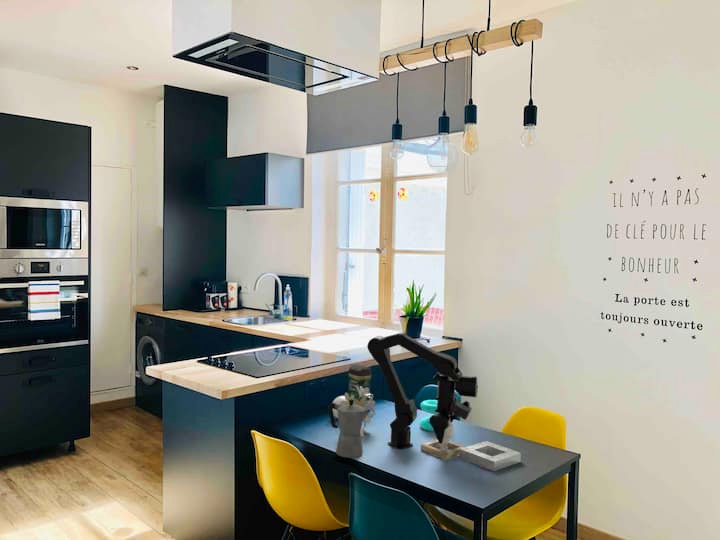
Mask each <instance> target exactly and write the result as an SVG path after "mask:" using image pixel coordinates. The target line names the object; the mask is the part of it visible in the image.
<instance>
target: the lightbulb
mask: <svg viewBox="0 0 720 540" xmlns="http://www.w3.org/2000/svg"><path fill="white" fill-rule="evenodd" d="M454 432H455V427H454V424H453V422H450V426H449V427H448V428H446V429H445V434H444V438H443V443H442V444H441V443H440V447H439V449H440V450H442V451H449V448H448V443H449V441H450V439H451V437H453V435H454Z"/></svg>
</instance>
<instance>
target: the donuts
mask: <svg viewBox="0 0 720 540" xmlns="http://www.w3.org/2000/svg"><path fill="white" fill-rule="evenodd" d="M436 408H437V400H436V399H427V400H423V401H422V402H421V403H420V409H421V410H422V411H423V412H425V413H428V414H432V415H433V414H435V413H437V412H435V409H436ZM438 414H439V413H438ZM430 417H431V416H426V417H423V418H421V420H420V421H419V426H420V428H421V429H423V430H424V431H427V430H428V431H429V432H434V430H433V427H432V426H431V424H430V423H429V422H430Z"/></svg>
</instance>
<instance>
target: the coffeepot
mask: <svg viewBox="0 0 720 540" xmlns="http://www.w3.org/2000/svg"><path fill="white" fill-rule="evenodd" d="M353 401H354V400H352V399H350V400H349V405H341V404H335V403H333V402H331V403H330V405H329V406H328V407H327V411H328V416H329V420H330V424H331V427H332V428H334V429H338V428H339V429H340V430H339V431H340V432H339V434H338V439H337V440H338V441H337V444H336V449H335V450H336V451H335V454H336V455H337V456H339V457H341V458H349V459H350V458H351V459H352V458H358V457H361V456H362V455H363V452H364V451H363V442H362V436H361V434H360V430H361V428H362V425H363V423H364V421H363V420H364V418H365V417H366V416H367V415H370V412H369V410H364V409H365V408H364V407H361V406H358V405H353ZM333 409H336V410H337V411H338V418H337V419H338V425H337V424H336V423H335V422H336V420H335V416H334V415H333Z"/></svg>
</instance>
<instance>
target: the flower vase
mask: <svg viewBox="0 0 720 540" xmlns="http://www.w3.org/2000/svg"><path fill="white" fill-rule="evenodd" d="M355 386H356V385H355ZM356 388H357V390H358V392H359V395H360V396H359V398H358V400H357V399H355V398H354V395H351V397H349V395H348V392H345V393H344V395H340V396H337V397H336V398H334V400H332V403H335V404H341V405H349V400H350V399H352V400H354V401H353V405H358V406H361V407H364V408H365V409H364V410H367V411H369V410H370V412H371V413H370V414H367V416H366V417H365V418H364V420H363V428H362V427H361V430H360V434H361V437H365V434H367V435H370V434H371V433H370V432H369V431H367V430H366V425H369V424H370V423H371V420H372V419H371V418H373V417H374V416H375V415H376V411H375V408H374V407H375V406H376V401H375V400H374V394H373V393H371V392H370V393H368V392H364V389H363V387H362V386H360V390H359V388H358V386H356ZM363 392H364V393H363ZM367 395H370V396H367ZM360 397H362V398H361V400H360V401H359V399H360ZM366 397H368V398H370V401H369V402H368V404H367V405H365V404H364V403H365V401H366ZM333 415H334V418H337V419H338V411H337V410H336V409H333Z"/></svg>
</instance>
